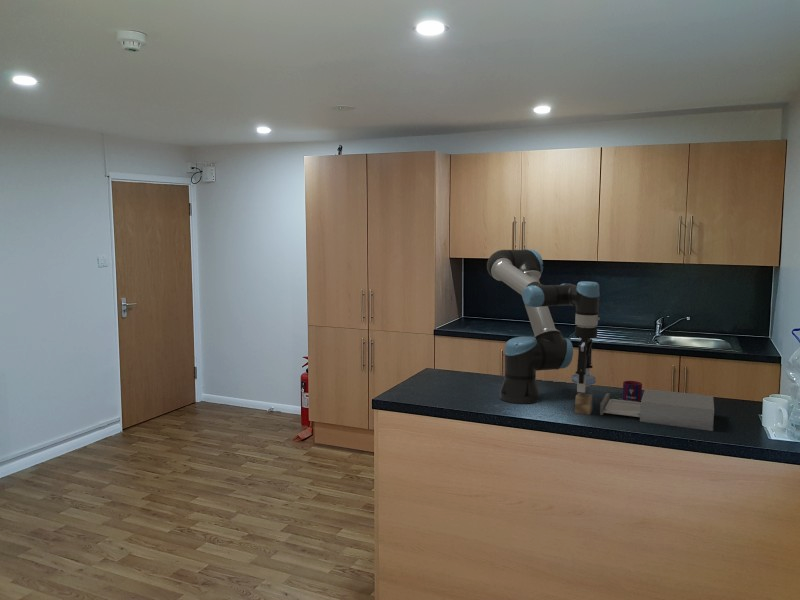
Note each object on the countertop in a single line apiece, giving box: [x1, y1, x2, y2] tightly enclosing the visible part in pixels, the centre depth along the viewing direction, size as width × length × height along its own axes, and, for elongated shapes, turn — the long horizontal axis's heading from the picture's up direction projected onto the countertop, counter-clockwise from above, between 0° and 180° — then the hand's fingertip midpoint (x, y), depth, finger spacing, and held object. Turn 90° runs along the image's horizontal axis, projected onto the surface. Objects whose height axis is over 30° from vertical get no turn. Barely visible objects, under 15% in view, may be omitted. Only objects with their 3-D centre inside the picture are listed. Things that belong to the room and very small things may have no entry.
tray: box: [599, 392, 641, 418], centre depth 214 cm, size 18×16×4 cm
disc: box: [571, 373, 597, 386], centre depth 215 cm, size 8×8×2 cm
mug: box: [621, 380, 643, 402], centre depth 231 cm, size 7×10×7 cm
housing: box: [639, 388, 715, 432], centre depth 207 cm, size 22×18×7 cm
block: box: [574, 392, 593, 416], centre depth 215 cm, size 5×5×6 cm
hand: (583, 388), depth 215 cm, fingers closed on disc, 8 cm apart
